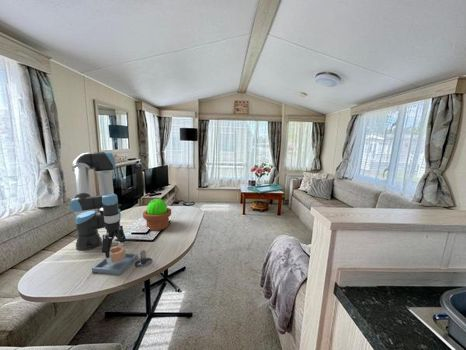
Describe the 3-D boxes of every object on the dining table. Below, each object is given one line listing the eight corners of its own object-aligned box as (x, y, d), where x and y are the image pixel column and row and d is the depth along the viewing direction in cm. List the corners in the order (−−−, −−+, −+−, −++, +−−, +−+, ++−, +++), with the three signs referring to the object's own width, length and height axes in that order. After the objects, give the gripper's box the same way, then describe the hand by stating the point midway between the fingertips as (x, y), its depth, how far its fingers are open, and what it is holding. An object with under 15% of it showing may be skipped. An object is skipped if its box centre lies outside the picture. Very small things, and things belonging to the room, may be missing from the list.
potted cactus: (175, 222, 186) (174, 195, 182) (163, 233, 165) (162, 203, 160) (153, 220, 190) (151, 194, 185) (138, 230, 168) (136, 201, 164)
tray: (113, 256, 133) (112, 251, 132) (138, 258, 131) (137, 253, 130) (92, 272, 116) (91, 268, 116) (120, 275, 114) (119, 270, 113)
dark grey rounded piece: (140, 257, 131) (139, 247, 129) (155, 259, 130) (154, 248, 128) (131, 267, 121) (130, 255, 120) (147, 269, 120) (146, 257, 118)
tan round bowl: (114, 253, 128) (113, 245, 127) (128, 254, 126) (128, 246, 126) (102, 262, 118) (101, 253, 117) (118, 263, 117) (117, 255, 116)
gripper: (119, 214, 130) (122, 247, 134) (90, 229, 108) (95, 268, 112) (130, 214, 129) (133, 247, 133) (103, 229, 107) (107, 269, 111)
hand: (115, 257), depth 122 cm, fingers closed on tan round bowl, 10 cm apart
